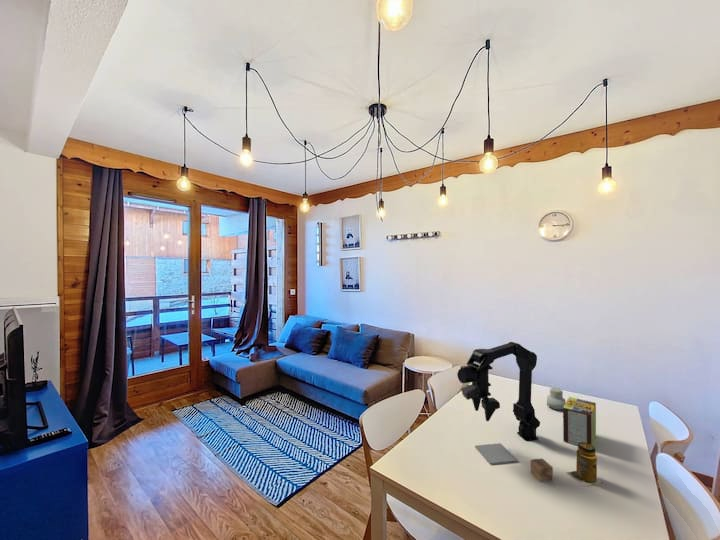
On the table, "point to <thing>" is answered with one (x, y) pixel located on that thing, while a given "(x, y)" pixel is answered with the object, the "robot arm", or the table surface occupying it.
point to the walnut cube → (541, 470)
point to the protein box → (579, 421)
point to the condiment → (585, 465)
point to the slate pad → (496, 453)
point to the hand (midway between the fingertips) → (481, 415)
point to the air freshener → (556, 399)
